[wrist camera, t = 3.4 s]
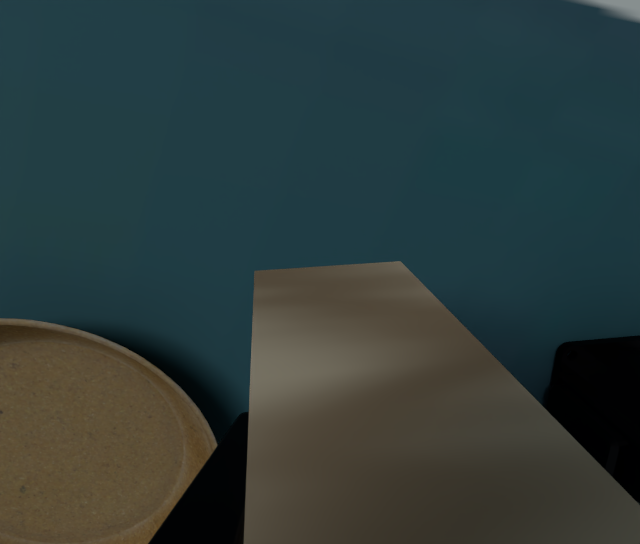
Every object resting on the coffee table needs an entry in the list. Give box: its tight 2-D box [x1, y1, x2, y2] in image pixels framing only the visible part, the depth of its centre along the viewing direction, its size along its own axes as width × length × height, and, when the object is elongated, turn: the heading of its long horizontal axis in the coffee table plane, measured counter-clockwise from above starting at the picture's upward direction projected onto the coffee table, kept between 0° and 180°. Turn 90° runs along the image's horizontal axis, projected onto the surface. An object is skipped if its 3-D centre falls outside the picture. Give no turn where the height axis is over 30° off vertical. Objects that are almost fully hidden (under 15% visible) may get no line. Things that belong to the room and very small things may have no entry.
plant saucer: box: [0, 318, 218, 544], centre depth 18 cm, size 15×15×3 cm
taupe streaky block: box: [244, 261, 640, 544], centre depth 6 cm, size 3×5×8 cm, turn 2°
